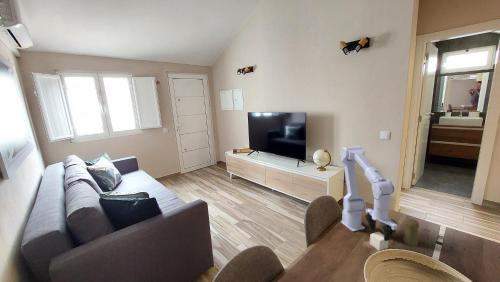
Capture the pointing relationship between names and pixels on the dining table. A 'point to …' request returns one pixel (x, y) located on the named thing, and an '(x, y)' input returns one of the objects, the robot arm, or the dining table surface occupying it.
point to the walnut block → (371, 248)
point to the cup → (386, 225)
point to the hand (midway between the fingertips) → (379, 234)
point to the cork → (411, 232)
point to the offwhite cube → (378, 241)
